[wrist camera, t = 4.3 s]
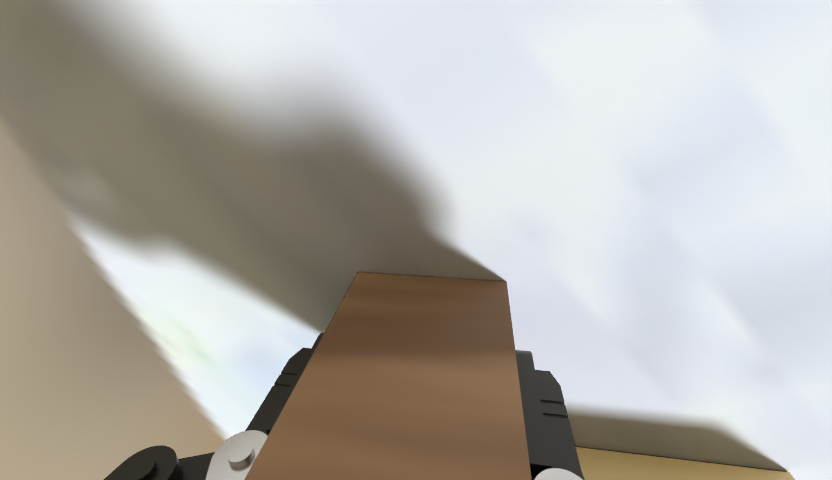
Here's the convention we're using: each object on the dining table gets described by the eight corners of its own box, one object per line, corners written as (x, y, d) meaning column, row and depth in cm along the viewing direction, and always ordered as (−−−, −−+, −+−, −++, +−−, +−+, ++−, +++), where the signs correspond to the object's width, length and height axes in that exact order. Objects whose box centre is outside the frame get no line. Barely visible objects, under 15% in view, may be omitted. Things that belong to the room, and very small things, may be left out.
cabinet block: (357, 271, 13) (181, 593, 5) (506, 281, 12) (555, 665, 5) (366, 360, 15) (242, 701, 7) (496, 373, 14) (520, 764, 6)
